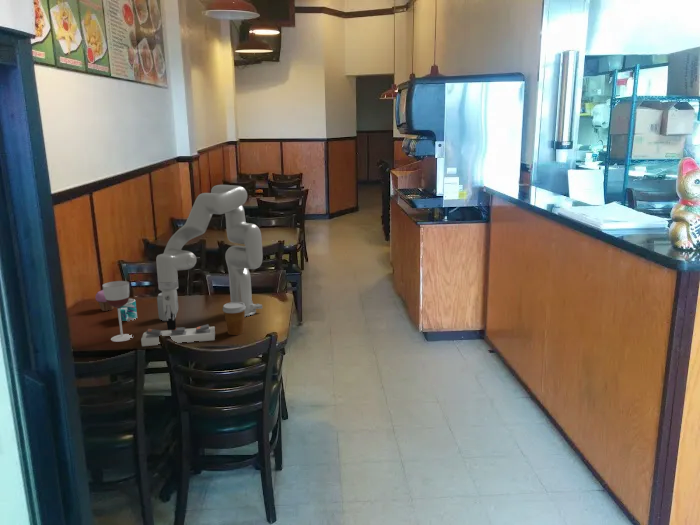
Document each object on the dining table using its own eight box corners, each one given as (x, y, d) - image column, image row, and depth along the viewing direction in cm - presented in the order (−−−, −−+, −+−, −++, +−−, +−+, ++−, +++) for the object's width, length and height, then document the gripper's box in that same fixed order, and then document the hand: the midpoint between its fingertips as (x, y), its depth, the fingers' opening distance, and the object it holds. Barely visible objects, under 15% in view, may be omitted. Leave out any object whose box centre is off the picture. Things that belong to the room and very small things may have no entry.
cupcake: (118, 310, 271) (116, 290, 269) (99, 314, 266) (96, 293, 264) (114, 305, 278) (112, 286, 276) (95, 309, 274) (92, 289, 271)
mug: (139, 315, 264) (137, 298, 262) (133, 324, 252) (131, 306, 250) (120, 316, 263) (118, 299, 261) (113, 325, 251) (111, 307, 249)
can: (171, 322, 254) (168, 296, 251) (155, 321, 255) (153, 295, 252) (179, 316, 261) (177, 291, 258) (164, 315, 262) (161, 290, 259)
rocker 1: (160, 332, 231) (160, 330, 231) (159, 335, 228) (159, 332, 228) (147, 331, 230) (147, 328, 230) (146, 333, 227) (146, 331, 227)
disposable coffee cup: (226, 337, 233) (224, 309, 231) (222, 330, 242) (220, 303, 239) (249, 334, 237) (248, 306, 234) (244, 327, 246) (242, 300, 243)
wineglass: (113, 334, 240) (106, 281, 234) (137, 333, 241) (131, 280, 235) (106, 342, 231) (99, 287, 226) (131, 341, 232) (125, 286, 226)
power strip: (215, 333, 239) (214, 326, 238) (214, 340, 231) (213, 332, 231) (144, 339, 234) (144, 332, 233) (141, 346, 226) (141, 339, 225)
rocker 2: (209, 326, 234) (208, 323, 234) (208, 328, 231) (208, 326, 231) (197, 329, 234) (196, 327, 233) (196, 332, 231) (195, 329, 230)
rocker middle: (185, 329, 233) (185, 326, 232) (184, 332, 230) (184, 329, 229) (172, 330, 232) (172, 327, 231) (171, 332, 229) (171, 330, 228)
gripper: (176, 289, 219) (179, 334, 223) (179, 279, 233) (183, 322, 237) (155, 290, 218) (159, 336, 222) (160, 280, 232) (164, 323, 236)
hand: (171, 329), depth 230 cm, fingers closed
